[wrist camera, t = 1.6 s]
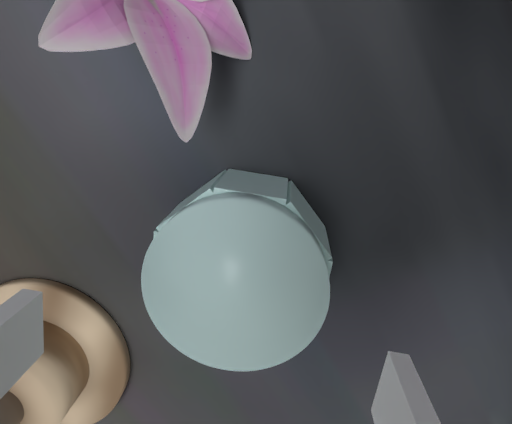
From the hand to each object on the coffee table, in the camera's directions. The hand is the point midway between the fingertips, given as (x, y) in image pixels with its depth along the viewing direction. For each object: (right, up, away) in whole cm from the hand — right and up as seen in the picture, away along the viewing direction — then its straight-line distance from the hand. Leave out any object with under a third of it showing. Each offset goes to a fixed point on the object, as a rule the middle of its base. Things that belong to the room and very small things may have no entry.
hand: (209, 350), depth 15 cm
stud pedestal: (-13, -5, +13) cm, 19 cm away
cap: (+1, +3, +9) cm, 10 cm away
